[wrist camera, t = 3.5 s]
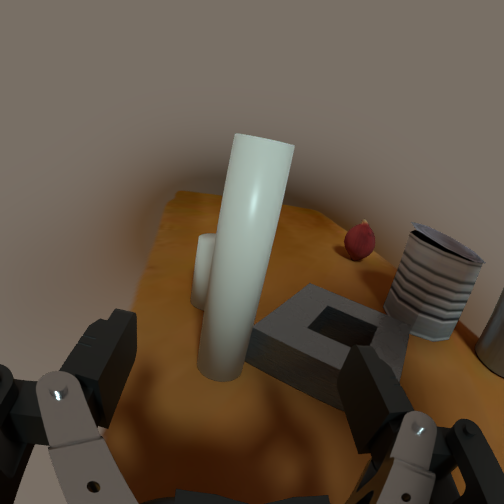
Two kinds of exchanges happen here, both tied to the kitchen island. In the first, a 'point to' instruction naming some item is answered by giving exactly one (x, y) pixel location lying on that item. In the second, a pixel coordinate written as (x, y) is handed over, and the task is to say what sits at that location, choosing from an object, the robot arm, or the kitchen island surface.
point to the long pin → (242, 252)
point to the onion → (360, 241)
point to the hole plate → (322, 341)
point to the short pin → (202, 270)
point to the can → (432, 283)
